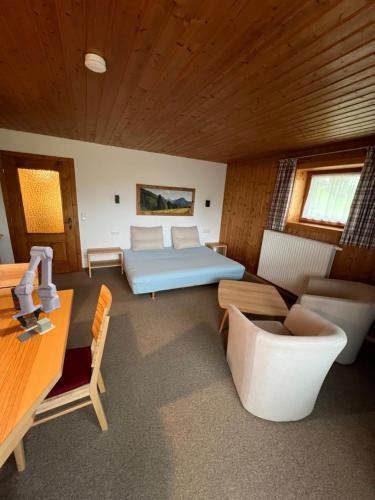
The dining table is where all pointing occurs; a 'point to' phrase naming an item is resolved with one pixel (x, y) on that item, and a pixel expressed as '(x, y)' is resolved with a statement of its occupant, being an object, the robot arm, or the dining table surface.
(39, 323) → the sage block
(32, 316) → the walnut block
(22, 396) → the dining table surface
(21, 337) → the coaster
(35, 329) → the card
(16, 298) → the deodorant
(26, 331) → the card
